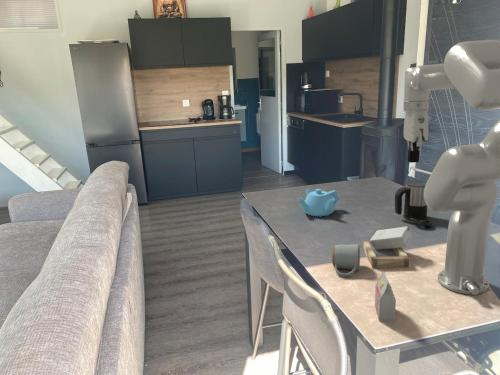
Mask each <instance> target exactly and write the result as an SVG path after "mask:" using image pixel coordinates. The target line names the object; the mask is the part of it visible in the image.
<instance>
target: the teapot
mask: <svg viewBox="0 0 500 375" xmlns="http://www.w3.org/2000/svg"><path fill="white" fill-rule="evenodd" d="M305 191H306V192H305V193H306V197H305V199H304V198H303V197H299V198H297V200H298V202H299V204H300V207H301V208H302V211H303V212H304V213H305V214H306V215H307V214H308V215H307V216H310V215H311V216H310V217H314V216H317V217H316V218H321V217H322V216H324V217H328V216H330V214H331V215H332V214H333V213H334V212H335V209H336V207H335V206H336V204H337V203H338V201H339V197H338V193H337V191H336V190H334V189H333V190H331V191H330V190H329V191H328V192H327V191H325V190H323V189H321V188H317V189H315V190H313V191H311V190H310V189H306V190H305ZM318 216H319V217H318ZM322 218H323V217H322Z"/></svg>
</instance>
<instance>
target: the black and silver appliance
mask: <svg viewBox="0 0 500 375" xmlns="http://www.w3.org/2000/svg"><path fill="white" fill-rule="evenodd" d="M426 183H427V181H424V180H408V181H405V186H402V187H400V188H398V189H397V190H396V191H395V192H394V212H395V213H396V215H402V213H403V218H404V219H406V220H408V221H411V222H416V223H419V224H421V225H422V226H424V227H426V228H429V227H431V226H433V223H432V222H430V220H429V219H428V206H427V205H426V203H425V200H424V189H425V186H426ZM403 196H404V205H403Z"/></svg>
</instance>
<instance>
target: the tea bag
mask: <svg viewBox="0 0 500 375" xmlns="http://www.w3.org/2000/svg"><path fill="white" fill-rule="evenodd" d="M381 272H382V273H381V275H380V277H379V279H378V280H377V282H376V283H375V294H374V306H375V307H374V308H375V311H376V315H377V318H378V321H379V322H391V323H394V322H396V306H397V304H396V303H397V302H396V301H397V300H396V296H395V293H394V291H393V289H392V286H391V283H390V281H389V280H388V278H387V275H386V273H385V272H386V271H383V270H381Z"/></svg>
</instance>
